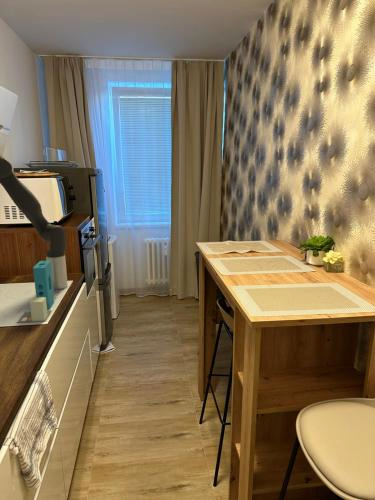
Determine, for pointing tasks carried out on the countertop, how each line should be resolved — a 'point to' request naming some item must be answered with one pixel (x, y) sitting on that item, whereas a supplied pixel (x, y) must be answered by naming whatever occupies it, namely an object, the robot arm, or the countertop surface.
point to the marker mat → (27, 317)
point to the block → (44, 281)
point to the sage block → (38, 309)
